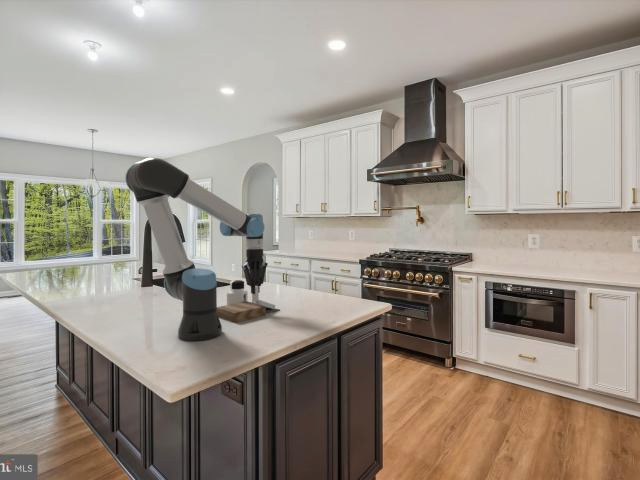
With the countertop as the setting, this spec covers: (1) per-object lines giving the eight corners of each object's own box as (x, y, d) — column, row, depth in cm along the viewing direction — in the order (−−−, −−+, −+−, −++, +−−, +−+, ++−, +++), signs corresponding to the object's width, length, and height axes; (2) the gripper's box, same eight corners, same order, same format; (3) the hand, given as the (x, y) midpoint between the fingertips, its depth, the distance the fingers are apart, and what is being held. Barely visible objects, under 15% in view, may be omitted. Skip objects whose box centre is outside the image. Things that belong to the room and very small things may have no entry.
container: (247, 306, 175) (247, 279, 174) (242, 310, 167) (242, 282, 167) (232, 305, 176) (232, 279, 175) (226, 309, 168) (226, 281, 167)
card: (259, 304, 161) (261, 300, 161) (251, 302, 165) (253, 298, 165) (274, 309, 167) (275, 305, 167) (266, 307, 171) (267, 303, 171)
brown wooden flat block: (234, 322, 146) (234, 313, 146) (215, 316, 156) (215, 307, 156) (265, 315, 158) (265, 306, 158) (246, 309, 168) (246, 301, 167)
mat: (262, 314, 159) (262, 313, 159) (249, 310, 166) (249, 309, 166) (279, 310, 167) (279, 309, 167) (266, 306, 173) (266, 306, 173)
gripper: (247, 249, 154) (248, 304, 155) (271, 247, 163) (272, 299, 165) (237, 248, 159) (238, 301, 160) (261, 247, 168) (261, 297, 170)
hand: (255, 300), depth 162 cm, fingers closed
